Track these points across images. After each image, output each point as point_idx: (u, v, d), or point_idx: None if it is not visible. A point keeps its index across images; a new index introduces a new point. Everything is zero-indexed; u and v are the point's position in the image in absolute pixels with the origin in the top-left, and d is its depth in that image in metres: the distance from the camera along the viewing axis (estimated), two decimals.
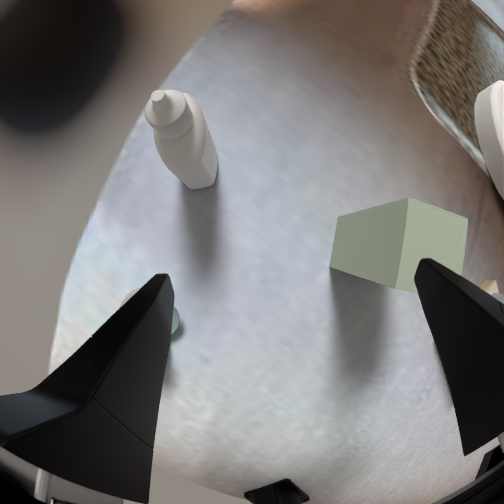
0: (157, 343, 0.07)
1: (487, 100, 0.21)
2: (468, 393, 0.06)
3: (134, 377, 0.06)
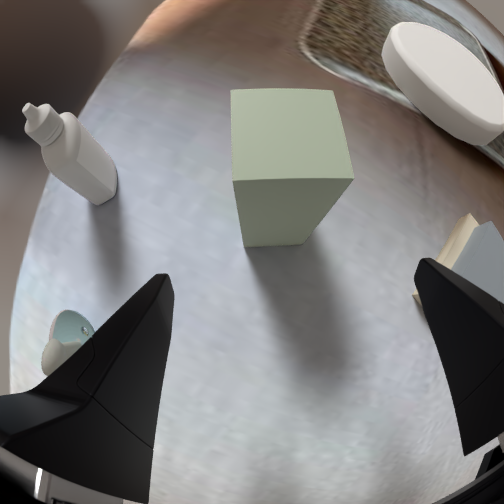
0: (157, 343, 0.07)
1: (389, 41, 0.23)
2: (467, 393, 0.06)
3: (134, 377, 0.06)
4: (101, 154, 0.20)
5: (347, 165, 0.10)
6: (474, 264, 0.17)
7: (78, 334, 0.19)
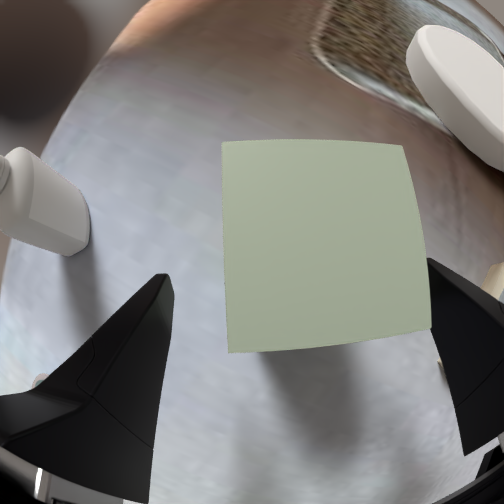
0: (157, 343, 0.07)
1: (416, 47, 0.19)
2: (467, 393, 0.06)
3: (134, 377, 0.06)
4: (66, 197, 0.15)
5: (424, 305, 0.05)
6: None
7: None
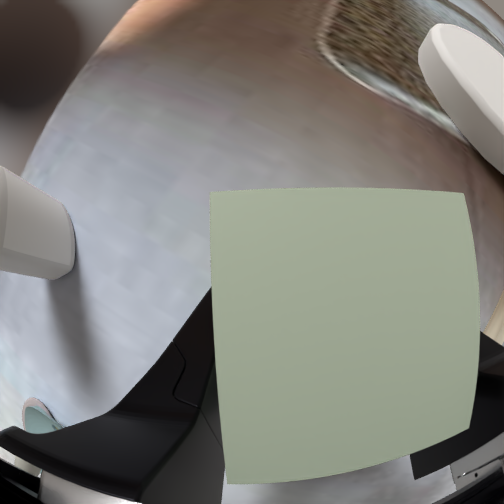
0: None
1: (430, 47, 0.16)
2: None
3: None
4: (46, 217, 0.13)
5: (467, 407, 0.03)
6: None
7: (50, 429, 0.13)
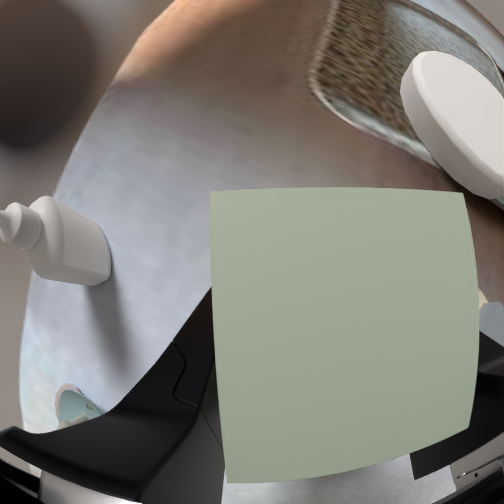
0: None
1: (410, 79, 0.22)
2: None
3: None
4: (90, 238, 0.18)
5: (466, 406, 0.03)
6: None
7: (83, 409, 0.18)
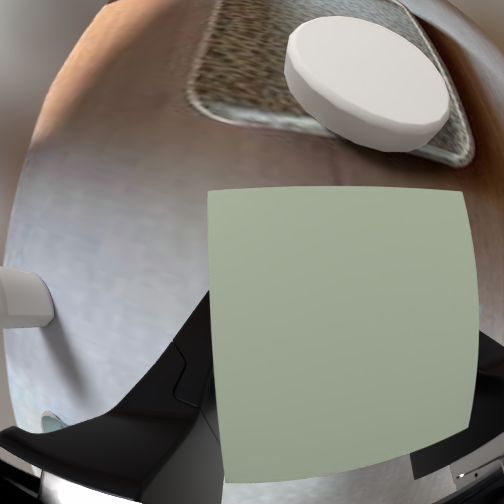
0: None
1: (287, 57, 0.24)
2: None
3: None
4: (29, 288, 0.19)
5: (466, 406, 0.03)
6: None
7: None
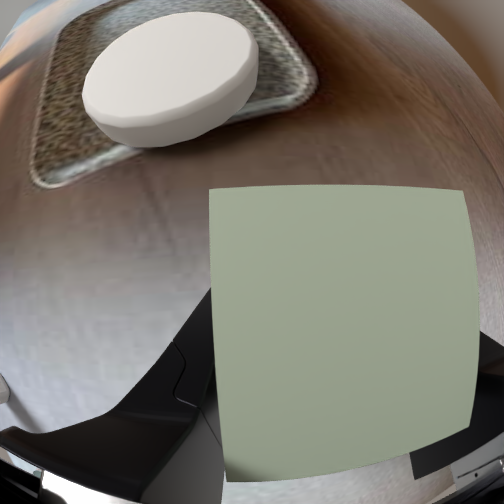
0: None
1: None
2: None
3: None
4: None
5: (467, 405, 0.03)
6: None
7: None
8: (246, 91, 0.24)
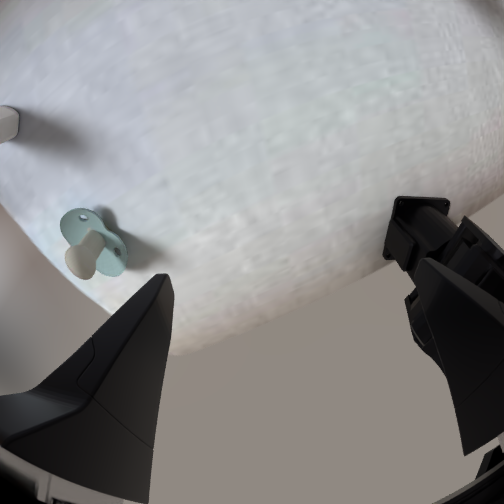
0: (157, 343, 0.07)
1: None
2: (467, 393, 0.06)
3: (134, 377, 0.06)
4: None
5: None
6: None
7: (84, 226, 0.21)
8: None
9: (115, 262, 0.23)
